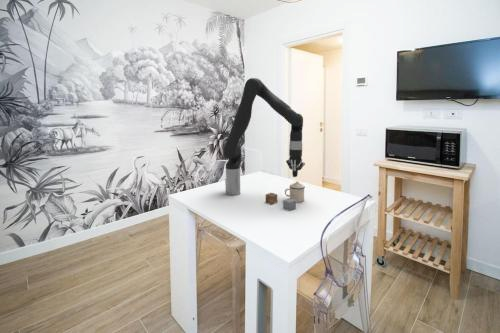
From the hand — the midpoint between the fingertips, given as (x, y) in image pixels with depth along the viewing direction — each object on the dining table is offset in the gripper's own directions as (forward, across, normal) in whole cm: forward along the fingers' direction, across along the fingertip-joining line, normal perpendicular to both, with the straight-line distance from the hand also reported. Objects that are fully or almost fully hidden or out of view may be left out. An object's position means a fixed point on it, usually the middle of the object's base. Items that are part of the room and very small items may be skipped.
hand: (294, 176), depth 163 cm
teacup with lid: (+15, 0, 0) cm, 15 cm away
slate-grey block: (+15, +7, -13) cm, 21 cm away
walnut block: (+15, -7, -13) cm, 21 cm away
